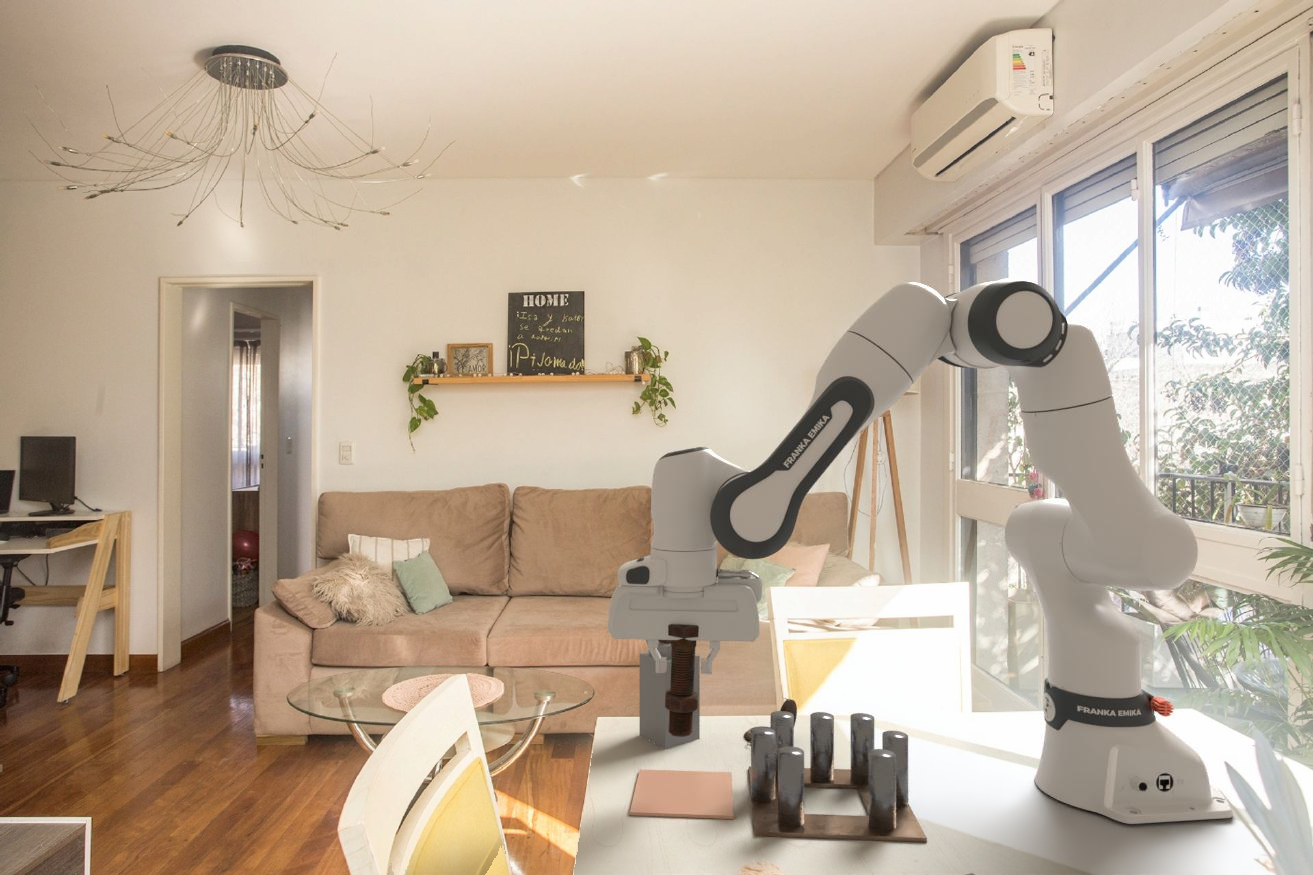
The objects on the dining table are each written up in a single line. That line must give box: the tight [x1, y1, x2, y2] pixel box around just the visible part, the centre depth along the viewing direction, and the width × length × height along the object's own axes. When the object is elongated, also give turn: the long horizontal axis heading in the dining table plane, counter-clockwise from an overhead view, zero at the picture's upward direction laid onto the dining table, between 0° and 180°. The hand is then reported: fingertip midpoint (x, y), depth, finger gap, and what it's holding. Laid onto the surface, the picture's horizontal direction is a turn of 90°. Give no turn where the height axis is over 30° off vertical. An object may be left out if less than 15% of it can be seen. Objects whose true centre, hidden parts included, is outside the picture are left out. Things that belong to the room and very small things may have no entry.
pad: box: [629, 769, 734, 820], centre depth 105 cm, size 13×13×1 cm
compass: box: [743, 697, 798, 747], centre depth 123 cm, size 8×8×7 cm
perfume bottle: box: [639, 640, 701, 750], centre depth 124 cm, size 7×7×18 cm
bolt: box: [665, 624, 699, 737], centre depth 105 cm, size 6×5×15 cm
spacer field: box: [748, 710, 928, 843], centre depth 103 cm, size 20×19×9 cm
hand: (683, 672), depth 105 cm, fingers closed on bolt, 5 cm apart
